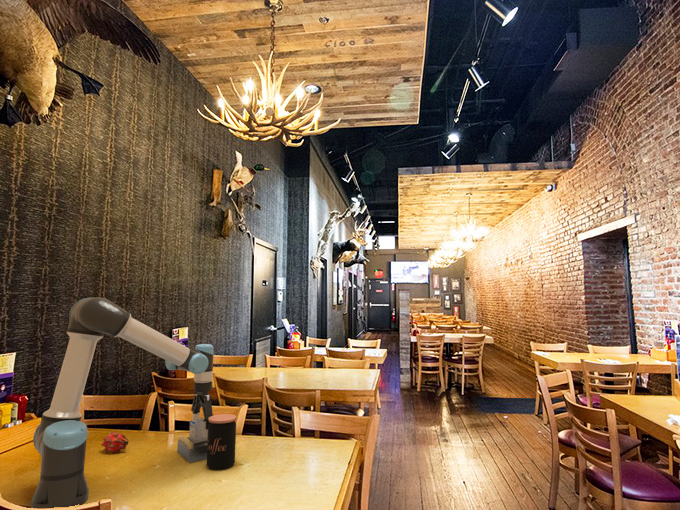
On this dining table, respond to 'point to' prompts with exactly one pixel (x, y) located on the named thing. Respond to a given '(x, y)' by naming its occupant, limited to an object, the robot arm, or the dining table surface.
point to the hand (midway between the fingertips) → (200, 433)
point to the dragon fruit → (115, 442)
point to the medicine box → (197, 431)
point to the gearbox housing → (191, 449)
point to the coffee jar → (221, 441)
